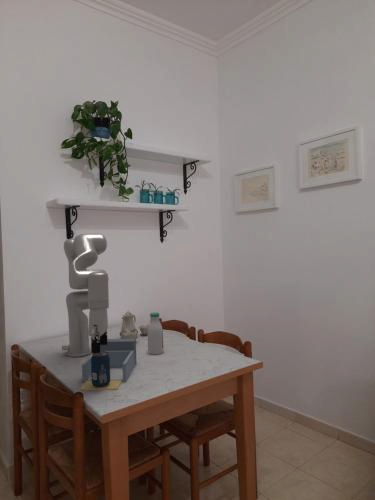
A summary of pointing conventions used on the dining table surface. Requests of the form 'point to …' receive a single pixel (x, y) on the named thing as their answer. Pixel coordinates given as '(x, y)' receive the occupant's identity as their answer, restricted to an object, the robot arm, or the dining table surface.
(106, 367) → the soda can
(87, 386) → the panel
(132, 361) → the truck bed
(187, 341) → the dining table surface
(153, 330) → the milk bottle
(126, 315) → the chinaware
